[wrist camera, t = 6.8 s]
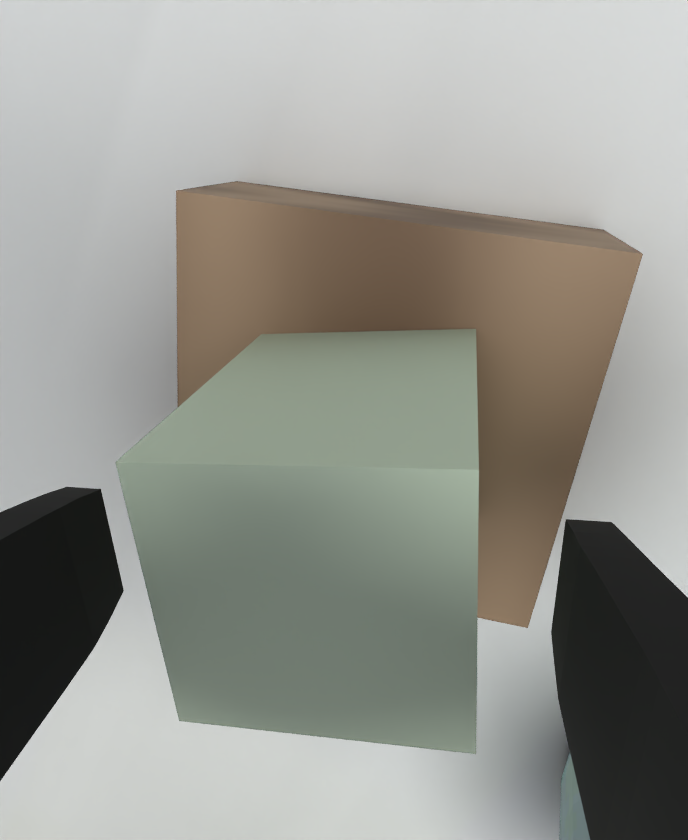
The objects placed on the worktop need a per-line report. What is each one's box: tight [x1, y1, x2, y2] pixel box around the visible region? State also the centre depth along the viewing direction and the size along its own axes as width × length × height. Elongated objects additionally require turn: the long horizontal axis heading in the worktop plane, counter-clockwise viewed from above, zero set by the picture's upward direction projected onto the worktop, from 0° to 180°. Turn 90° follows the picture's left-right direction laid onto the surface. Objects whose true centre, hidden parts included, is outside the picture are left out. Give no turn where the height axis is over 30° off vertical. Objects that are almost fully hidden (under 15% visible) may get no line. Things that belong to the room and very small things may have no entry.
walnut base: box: [176, 181, 643, 628], centre depth 15 cm, size 9×9×4 cm
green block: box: [115, 329, 479, 754], centre depth 11 cm, size 4×4×6 cm
